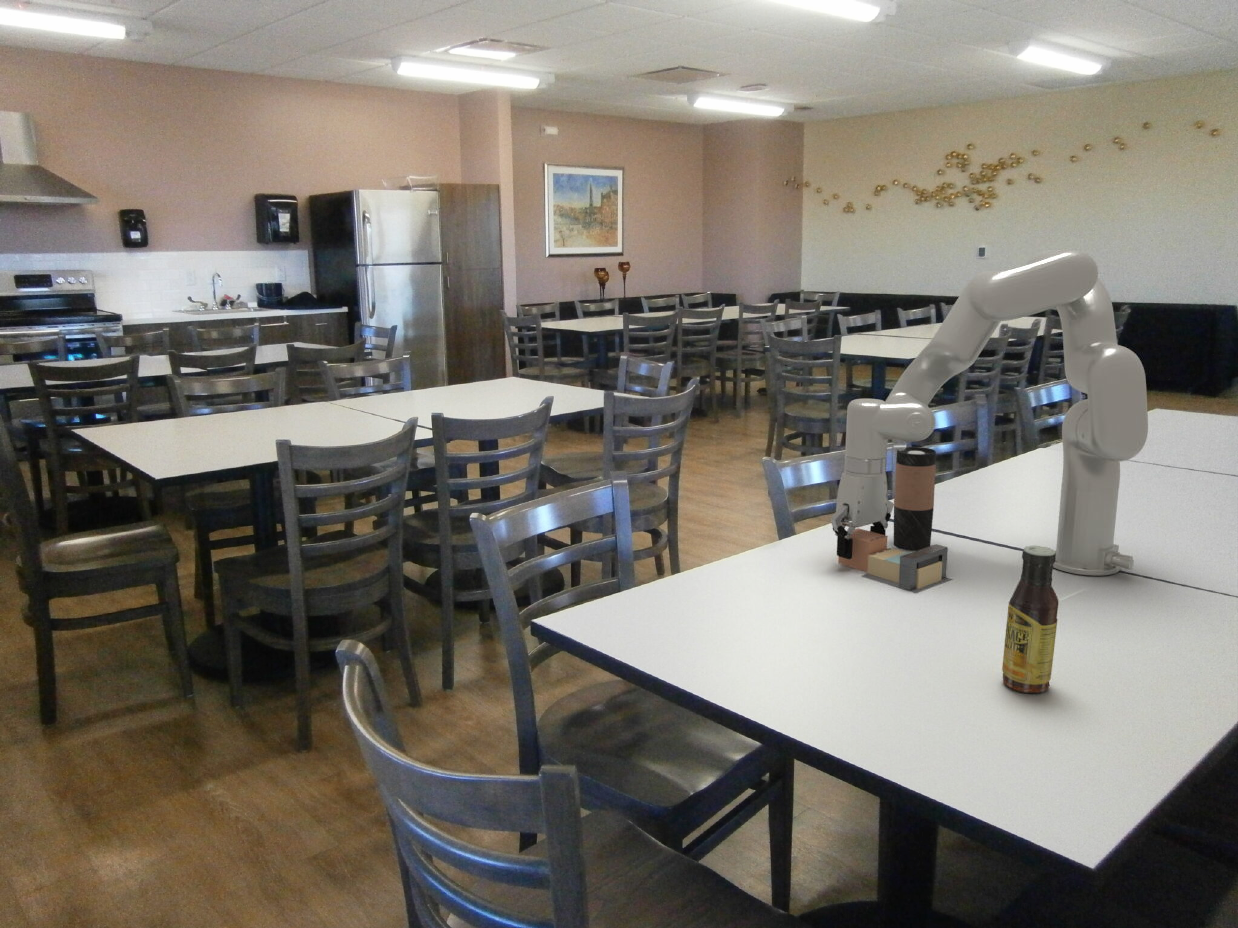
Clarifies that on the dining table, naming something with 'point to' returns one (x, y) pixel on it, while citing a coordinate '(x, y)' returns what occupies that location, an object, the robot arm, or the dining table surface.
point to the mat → (898, 583)
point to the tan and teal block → (889, 564)
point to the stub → (864, 548)
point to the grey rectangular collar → (920, 564)
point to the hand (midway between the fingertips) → (860, 552)
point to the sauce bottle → (1031, 624)
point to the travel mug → (914, 498)
